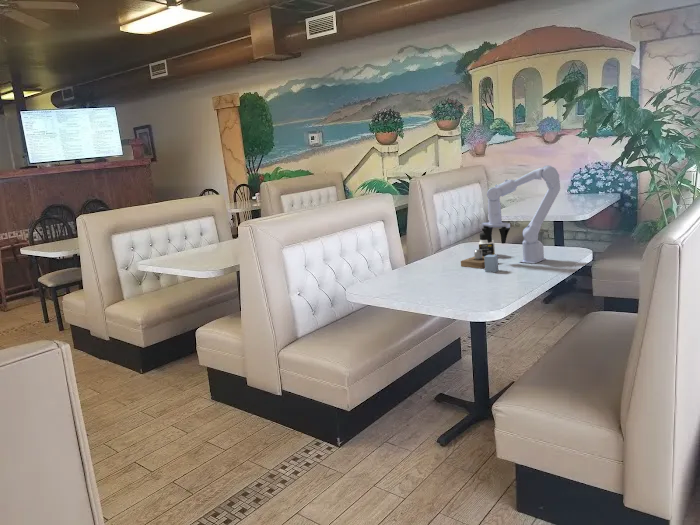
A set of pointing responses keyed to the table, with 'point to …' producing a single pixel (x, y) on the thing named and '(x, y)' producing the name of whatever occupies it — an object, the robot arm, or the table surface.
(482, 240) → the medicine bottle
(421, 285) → the table surface
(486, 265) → the square peg
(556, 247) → the table surface
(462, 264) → the bore block
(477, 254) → the round peg
